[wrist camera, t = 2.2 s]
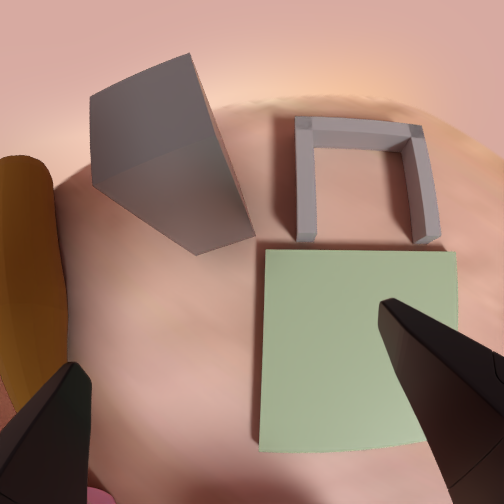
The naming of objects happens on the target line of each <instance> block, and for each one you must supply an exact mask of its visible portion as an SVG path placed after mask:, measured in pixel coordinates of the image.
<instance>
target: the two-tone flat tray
mask: <svg viewBox="0 0 504 504" xmlns="http://www.w3.org/2000/svg"><path fill="white" fill-rule="evenodd" d="M294 135H295V167H296V242H314V240H315V237H316V235H317V211H316V183H315V162H314V147H317V148H344V149H362V150H377V151H389V152H400V153H401V154H402V160H403V166H404V172H405V178H406V185H407V192H408V200H409V208H410V217H411V227H412V239H413V244H428V243H430V242H431V241H433V240H435V239H437V238H439V237H440V236H441V228H440V220H439V212H438V205H437V198H436V191H435V185H434V180H433V174H432V169H431V164H430V159H429V154H428V150H427V145H426V141H425V137H424V133H423V129H422V126H420V125H413V124H405V123H397V122H388V121H378V120H366V119H353V118H336V117H307V116H295V134H294ZM389 298H396V299H398V300H400V301H402V302H404V303H405V304H407V305H409V306H411V307H413V308H415V309H417V310H419V311H421V312H422V313H424V314H426V315H428V316H430V317H432V318H434V319H436V320H437V321H439V322H441V323H443V324H445V325H447V326H449V327H451V328H452V329H454V330H456V331H458V281H457V263H456V252H441V251H362V250H270V249H266V254H265V293H264V326H263V357H262V384H261V410H260V433H259V452H275V453H324V452H344V451H357V450H368V449H377V448H385V447H393V446H400V445H406V444H412V443H418V442H423V441H427V439H426V437H425V435H424V433H423V430H422V428H421V426H420V424H419V422H418V420H417V418H416V415H415V413H414V411H413V409H412V407H411V405H410V403H409V401H408V399H407V397H406V395H405V393H404V391H403V389H402V387H401V385H400V383H399V381H398V378H397V376H396V374H395V372H394V369H393V366H392V364H391V361H390V358H389V356H388V353H387V350H386V348H385V345H384V342H383V340H382V337H381V335H380V332H379V329H378V310H379V303H380V301H382V300H385V299H389Z"/></svg>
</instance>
